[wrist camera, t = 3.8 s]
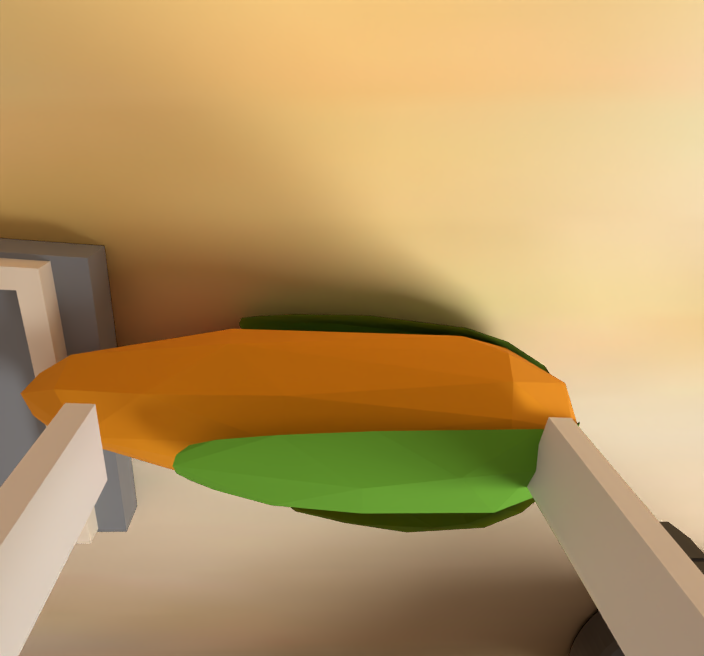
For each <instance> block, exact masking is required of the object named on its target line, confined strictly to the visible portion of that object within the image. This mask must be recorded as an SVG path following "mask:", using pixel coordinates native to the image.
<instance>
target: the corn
mask: <svg viewBox="0 0 704 656" xmlns="http://www.w3.org/2000/svg"><path fill="white" fill-rule="evenodd" d="M239 325H240V327H241V329H227V330H221V331H215V332H208V333H202V334H196V335H190V336H184V337H178V338H171V339H165V340H159V341H153V342H147V343H140V344H134V345H128V346H122V347H116V348H110V349H103V350H97V351H91V352H85V353H79V354H72V355H70V356H68V357H66V358H64V359H63V360H61V361H59V362H58V363H56V364H54V365H53V366H51V367H49V368H48V369H46V370H44V371H42V372H41V373H39V374H38V375H37V376H36V378H35V379H34V380H33V381H32V382H31V383H30V384H29V385H28V386H27V387H26V388H25V389H24V390H23V391H22V392H21V393H20V394H21V396H22V397H23V399H24V401H25V402H26V404H27V406H28V408H29V409H30V411H31V413H32V414H33V416H35V417H36V418H37V419H39V420H40V421H41V422H42V423H44V424H45V425H46V426H48V425H49V423H50V422H51V421H52V419H53V418H54V417H55V416H56V414H57V413H58V412H59V410H60V409H61V408H62V406H63V405H64V404H65V403H80V404H95V406H96V412H97V418H98V424H99V430H100V437H101V443H102V449H104V450H108V451H111V452H115V453H118V454H121V455H125V456H128V457H132V458H135V459H138V460H142V461H145V462H149V463H152V464H155V465H159V466H162V467H166V468H169V469H172V470H175V472H176V473H177V474H179V475H181V476H183V477H185V478H187V479H189V480H191V481H193V482H196V483H198V484H201V485H204V486H206V487H209V488H211V489H214V490H217V491H220V492H224V493H228V494H232V495H235V496H239V497H243V498H246V499H250V500H254V501H258V502H261V503H265V504H269V505H273V506H285V507H291V508H292V509H293V510H295V511H296V512H301V513H305V514H309V515H314V516H318V517H322V518H326V519H331V520H335V521H339V522H344V523H349V524H356V525H362V526H369V527H376V528H382V529H389V530H395V531H402V532H420V531H437V530H453V529H470V528H485V527H487V526H489V525H492V524H494V523H497V522H499V521H502V520H504V519H507V518H509V517H511V516H514V515H516V514H519V513H521V512H523V511H524V510H525V509H526V508H528V507H529V506H530V505H531V504H532V503H534V502H535V500H534V498H533V497H532V495H531V493H530V491H529V490H528V488H527V486H528V484H529V482H530V481H531V479H532V477H533V475H534V474H535V472H536V467H537V457H538V447H539V442H540V440H541V437H542V434H543V431H544V429H545V426H546V423H547V420H548V418H549V417H558V418H572V419H573V421H574V422H575V423H576V424H577V425H578V426H579V424H580V422H579V423H577V422H576V419H575V415H574V412H573V408H572V405H571V401H570V398H569V395H568V391H567V388H566V384H565V383H564V382H562V381H561V380H559V379H557V378H556V377H554V376H552V375H551V374H550V373H549V372H548V370H547V369H546V367H545V366H544V365H542V364H541V363H539V362H538V361H536V360H535V359H533V358H532V357H530V356H528V355H527V354H525V353H524V352H522V351H521V350H519V349H518V348H516V347H515V346H513V345H512V344H510V343H509V342H507V341H504V340H501V339H498V338H495V337H492V336H489V335H486V334H483V333H480V332H477V331H474V330H471V329H468V328H463V327H455V326H447V325H440V324H432V323H424V322H416V321H408V320H400V319H393V318H385V317H377V316H363V315H314V314H289V315H268V316H254V317H247V318H242V319H241V321H240V323H239Z"/></svg>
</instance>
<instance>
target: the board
mask: <svg viewBox="0 0 704 656" xmlns="http://www.w3.org/2000/svg"><path fill="white" fill-rule="evenodd" d="M116 347H117V342H116V334H115V326H114V318H113V310H112V302H111V294H110V286H109V278H108V270H107V262H106V255H105V247H104V246H100V245H86V244H72V243H58V242H45V241H31V240H17V239H3V238H0V487H1V486H2V485H3V483H4V482H5V481H6V479H7V478H8V477H9V475H10V474H11V473H12V472H13V470H14V469H15V468H16V466H17V465H18V464H19V462H20V461H21V460H22V458H23V457H24V456H25V455H26V453H27V452H28V451H29V449H30V448H31V447H32V445H33V444H34V443H35V442H36V440H37V439H38V438H39V436H40V435H41V434H42V432H43V431H44V430H45V429H46V427H47V426H46V425H45V424H44V423H42V422H41V421H40V420H39V419H37V418H36V417H35V416H33V414H32V413H31V411H30V409H29V408H28V406H27V404H26V402H25V401H24V399H23V397H22V396H21V394H20V393H21V392H22V391H23V390H24V389H25V388H26V387H27V386H28V385H29V384H30V383H31V382H32V381H33V380H34V379H35V378H36V376H37V375H38V374H39V373H41V372H42V371H44V370H46V369H48V368H49V367H51V366H53V365H54V364H56V363H58V362H59V361H61V360H63V359H64V358H66V357H68V356H70V355H72V354H79V353H85V352H91V351H97V350H103V349H110V348H116ZM103 455H104V461H105V467H106V474H107V482H106V484H105V486H104V488H103V490H102V492H101V494H100V496H99V498H98V500H97V502H96V504H95V505H94V507H93V509H92V511H91V513H90V515H89V517H88V519H87V521H86V523H85V525H84V527H83V529H82V531H81V533H80V535H79V537H78V539H77V541H76V543H75V544H91V543H92V541H93V539H94V536H95V534H96V532H127V530H128V527H129V525H130V522H131V520H132V517H133V515H134V512H135V510H136V507H137V501H136V493H135V485H134V477H133V469H132V461H131V457H128V456H125V455H121V454H118V453H115V452H111V451H108V450H104V449H103Z"/></svg>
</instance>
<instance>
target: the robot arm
mask: <svg viewBox="0 0 704 656" xmlns="http://www.w3.org/2000/svg"><path fill="white" fill-rule="evenodd" d="M106 482H107V474H106V467H105V461H104V455H103V449H102V443H101V437H100V430H99V424H98V418H97V412H96V406H95V404H80V403H65V404H64V405H63V406H62V408H61V409H60V410H59V412H58V413H57V414H56V416H55V417H54V418H53V419H52V421H51V422H50V423H49V425H48V426H47V427H46V429H45V430H44V431H43V432H42V434H41V435H40V436H39V438H38V439H37V440H36V442H35V443H34V444H33V445H32V447H31V448H30V449H29V451H28V452H27V453H26V455H25V456H24V457H23V458H22V460H21V461H20V462H19V464H18V465H17V466H16V468H15V469H14V470H13V472H12V473H11V474H10V475H9V477H8V478H7V479H6V481H5V482H4V483H3V485H2V486H1V487H0V656H19V654H20V652H21V650H22V648H23V646H24V644H25V642H26V640H27V638H28V636H29V635H30V633H31V631H32V629H33V627H34V625H35V623H36V621H37V619H38V617H39V615H40V613H41V611H42V609H43V607H44V605H45V603H46V601H47V599H48V597H49V595H50V593H51V591H52V589H53V587H54V585H55V583H56V581H57V579H58V577H59V575H60V573H61V571H62V569H63V567H64V565H65V563H66V561H67V559H68V557H69V555H70V553H71V551H72V549H73V547H74V545H75V543H76V541H77V539H78V537H79V535H80V533H81V531H82V529H83V527H84V525H85V523H86V521H87V519H88V517H89V515H90V513H91V511H92V509H93V507H94V505H95V504H96V502H97V500H98V498H99V496H100V494H101V492H102V490H103V488H104V486H105V484H106ZM527 488H528V490H529V491H530V493H531V495H532V497H533V498H534V500H535V502H536V503H537V505H538V507H539V509H540V510H541V512H542V514H543V516H544V517H545V519H546V521H547V522H548V524H549V526H550V528H551V529H552V531H553V533H554V534H555V536H556V538H557V540H558V541H559V543H560V545H561V547H562V548H563V550H564V552H565V553H566V555H567V557H568V559H569V560H570V562H571V564H572V565H573V567H574V569H575V571H576V572H577V574H578V576H579V577H580V579H581V581H582V583H583V584H584V586H585V588H586V590H587V591H588V593H589V595H590V596H591V598H592V600H593V602H594V603H595V605H596V607H597V608H598V610H599V611H598V612H597V613H596V614H595V615H594V616H593V617H592V618H591V619H590V620H589V621H588V622H587V623H586V624H585V625H584V627H583V628H582V629H581V631H580V632H579V634H578V635H577V637H576V639H575V640H574V643H573V645H572V648H571V651H570V656H704V554H703V553H702V551H701V550H700V549H699V548H698V547H697V546H696V545H695V543H694V542H693V541H692V540H691V539H690V538H689V537H687V536H686V535H685V534H684V533H682V532H681V531H680V530H678V529H677V528H676V527H674V526H673V525H672V524H670V523H669V522H659V521H658V520H657V519H656V518H655V516H654V515H653V514H652V513H651V512H650V511H649V509H648V508H647V507H646V506H645V505H644V503H643V502H642V501H641V500H640V499H639V498H638V496H637V495H636V494H635V493H634V492H633V490H632V489H631V488H630V487H629V486H628V484H627V483H626V482H625V481H624V480H623V479H622V477H621V476H620V475H619V474H618V473H617V471H616V470H615V469H614V468H613V467H612V466H611V464H610V463H609V462H608V461H607V460H606V458H605V457H604V456H603V455H602V454H601V453H600V451H599V450H598V449H597V448H596V447H595V445H594V444H593V443H592V442H591V441H590V439H589V438H588V437H587V436H586V435H585V434H584V432H583V431H582V430H581V429H580V428H579V426H578V425H577V424H576V423H575V422H574V421H573V419H572V418H558V417H549V418H548V420H547V423H546V426H545V429H544V431H543V434H542V437H541V440H540V442H539V447H538V457H537V467H536V472H535V474H534V475H533V477H532V479H531V481H530V482H529V484H528V486H527Z"/></svg>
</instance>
